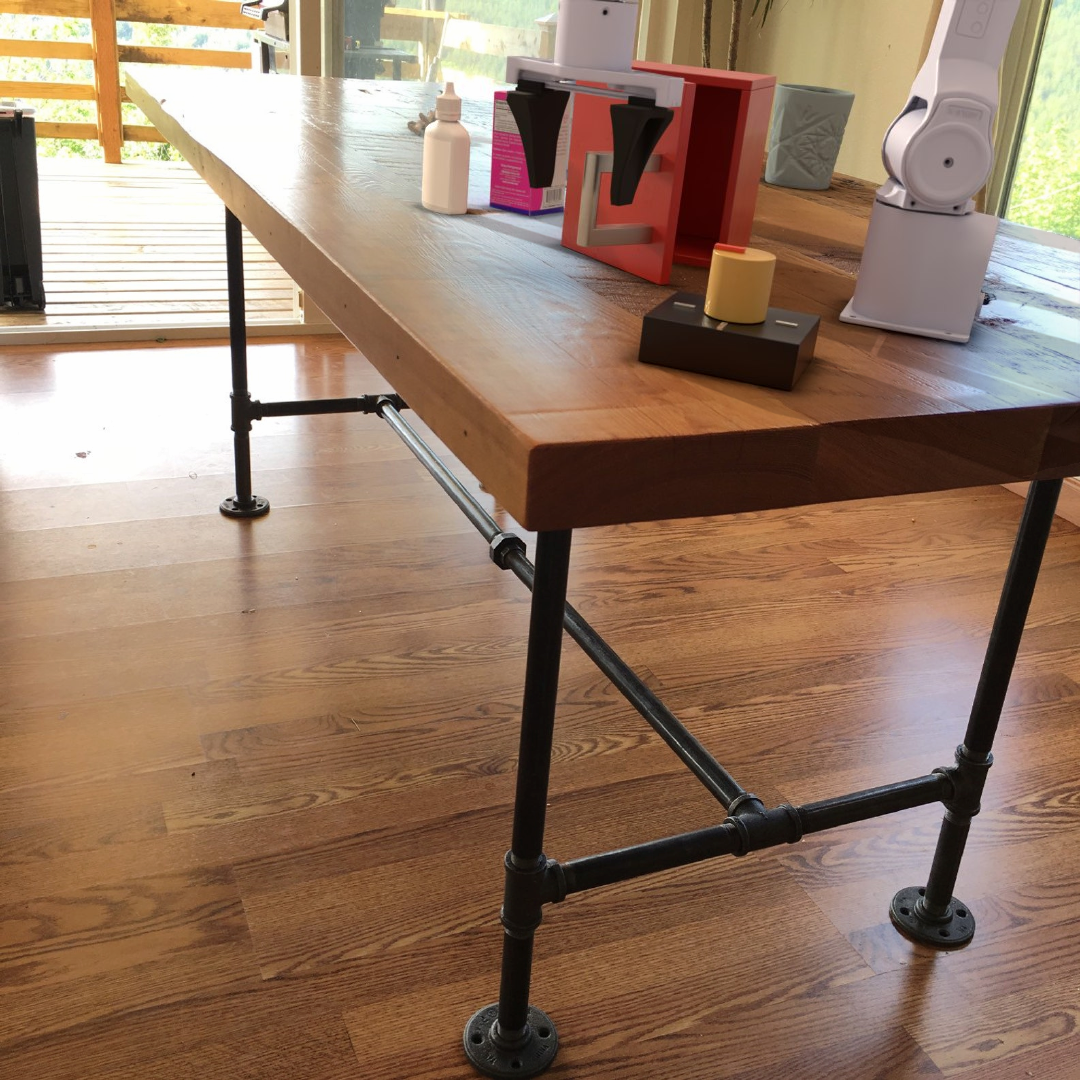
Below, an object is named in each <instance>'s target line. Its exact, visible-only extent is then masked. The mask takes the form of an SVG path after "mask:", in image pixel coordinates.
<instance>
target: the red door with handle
mask: <svg viewBox="0 0 1080 1080" xmlns="http://www.w3.org/2000/svg"><path fill="white" fill-rule="evenodd" d="M576 85H582V86H589V87H596V88H602V89H609V90H616V91H623V90H622V89H610V88H607V83H600V82H591V81H582V80H576ZM695 89H696V84H695V83H690V82H685V81H684V85H683V93H682V101H681V106H680V107H669V108H668V109H672V110H674V117H673V120H672V122H671V123H670V124H669V126H668V127H667V129H666V130H665V132H664V133H663V135H662V136H661V138H660V140H659V141H658V143H657V144H656V146H655V148H654V150H653V152H652V154H651V156H650V158H649V160H648V162H647V164H646V166H645V169H644V171H643V174H642V176H641V179H640V181H639V184H638V187H637V190H636V193H635V196H634V199H633V202H632V204H629V205H623V206H615V205H611V201H610V188H611V178H612V169H613V131H612V122H611V115H610V105H611V104H628V100H622V99H615V98H609V97H602V96H596V95H589V94H583V93H576V92H575V97H574V108H573V119H572V130H571V141H570V152H569V163H568V174H567V185H566V186H565V200H564V212H563V218H562V230H561V241H560V245H561V246H562V247H564V248H568V249H569V250H573V251H575V252H578V253H580V254H583V255H584V256H587V257H590V258H592V259H595V260H597V261H600V262H602V263H604V264H607V265H610V266H612V267H615V268H616V269H620V270H622V271H624V272H626V273H629V274H632V275H634V276H637V277H639V278H641V279H644V280H647V281H649V282H652V283H654V284H656V285H659V286H666V285H669V284H670V281H671V280H670V279H671V273H672V267H673V266H672V264H673V262H672V258H673V251H674V244H675V236H676V229H677V221H678V214H679V207H680V199H681V192H682V185H683V177H684V170H685V163H686V155H687V148H688V141H689V133H690V126H691V119H692V111H693V104H694V97H695Z"/></svg>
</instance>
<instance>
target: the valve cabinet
mask: <svg viewBox="0 0 1080 1080" xmlns="http://www.w3.org/2000/svg"><path fill="white" fill-rule="evenodd" d="M631 69H632V70H638V71H643V72H649V73H654V74H660V75H666V76H672V77H678V78H684V81H685V82H690V83H695V84H696V89H695V97H694V104H693V111H692V119H691V126H690V133H689V141H688V148H687V155H686V163H685V170H684V177H683V185H682V192H681V199H680V207H679V214H678V221H677V229H676V236H675V244H674V251H673V258H672V263H678V264H683V265H689V266H695V267H699V268H700V267H701V268H707V269H711V262H712V256H713V250H714V246H715V244H716V243H720V244H726V245H732V246H738V247H747V248H750V241H751V235H752V228H753V224H754V223H753V222H754V218H755V212H756V205H757V200H758V199H757V198H758V193H759V188H760V181H761V176H762V175H761V174H762V169H763V163H764V156H765V150H766V145H767V139H768V133H769V132H768V131H769V126H770V121H771V114H772V109H773V104H774V98H775V92H776V85H777V78H778V77H777V75H770V74H763V73H753V72H746V71H745V72H744V71H736V70H727V69H717V68H710V67H701V66H692V65H683V64H674V63H665V62H657V61H650V60H641V59H632V68H631Z"/></svg>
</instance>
